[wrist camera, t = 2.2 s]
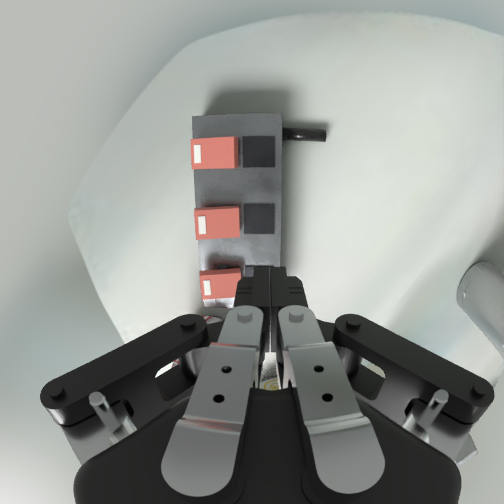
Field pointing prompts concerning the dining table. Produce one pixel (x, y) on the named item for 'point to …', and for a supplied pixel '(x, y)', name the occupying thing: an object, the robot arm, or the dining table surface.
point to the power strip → (246, 191)
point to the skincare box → (466, 451)
